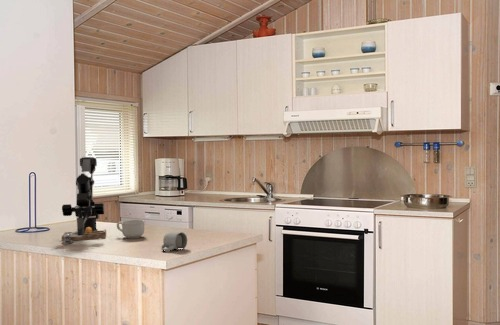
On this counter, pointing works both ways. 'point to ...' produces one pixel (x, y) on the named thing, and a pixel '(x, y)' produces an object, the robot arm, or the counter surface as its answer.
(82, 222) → the lever
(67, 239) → the pivot post
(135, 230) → the teacup
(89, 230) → the ball
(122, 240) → the counter surface
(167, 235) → the ceramic mug
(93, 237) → the lane
